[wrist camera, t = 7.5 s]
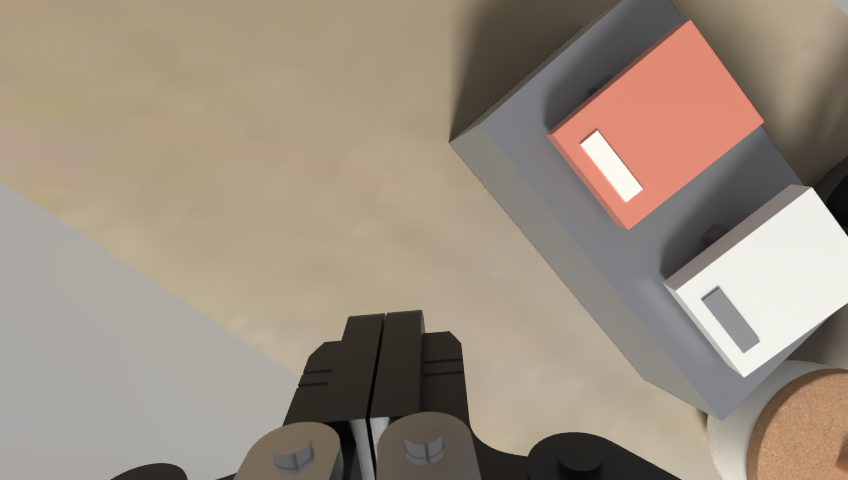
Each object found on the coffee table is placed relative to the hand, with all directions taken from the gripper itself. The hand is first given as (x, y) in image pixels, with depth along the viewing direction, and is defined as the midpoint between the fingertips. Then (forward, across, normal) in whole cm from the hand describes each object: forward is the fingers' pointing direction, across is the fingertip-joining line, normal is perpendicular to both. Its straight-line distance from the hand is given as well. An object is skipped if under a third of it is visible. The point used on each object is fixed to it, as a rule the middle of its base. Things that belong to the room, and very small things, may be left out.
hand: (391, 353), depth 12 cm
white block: (+17, -17, +7) cm, 26 cm away
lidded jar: (+24, -21, +21) cm, 39 cm away
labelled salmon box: (+18, -12, -1) cm, 22 cm away
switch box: (+27, -13, +6) cm, 30 cm away
